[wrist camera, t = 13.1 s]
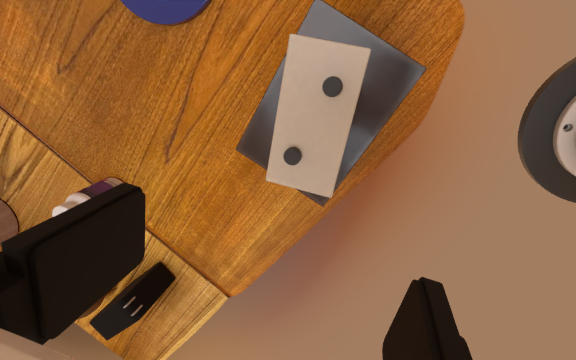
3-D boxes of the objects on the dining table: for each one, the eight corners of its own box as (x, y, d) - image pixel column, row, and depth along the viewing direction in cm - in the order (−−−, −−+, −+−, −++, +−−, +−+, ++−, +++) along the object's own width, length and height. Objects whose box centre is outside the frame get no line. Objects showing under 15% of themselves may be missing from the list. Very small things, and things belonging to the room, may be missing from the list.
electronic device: (130, 282, 58) (86, 324, 49) (161, 260, 54) (119, 300, 45) (145, 298, 58) (105, 342, 49) (177, 277, 54) (139, 320, 45)
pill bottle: (106, 170, 49) (49, 194, 41) (134, 187, 49) (84, 214, 40) (100, 196, 52) (45, 223, 43) (127, 212, 52) (77, 243, 43)
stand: (335, 22, 34) (315, -5, 21) (402, 65, 34) (427, 68, 21) (279, 119, 40) (235, 149, 26) (337, 157, 40) (323, 207, 26)
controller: (301, 37, 22) (287, 32, 18) (370, 50, 21) (371, 48, 17) (277, 165, 26) (262, 184, 22) (335, 180, 25) (330, 202, 21)
